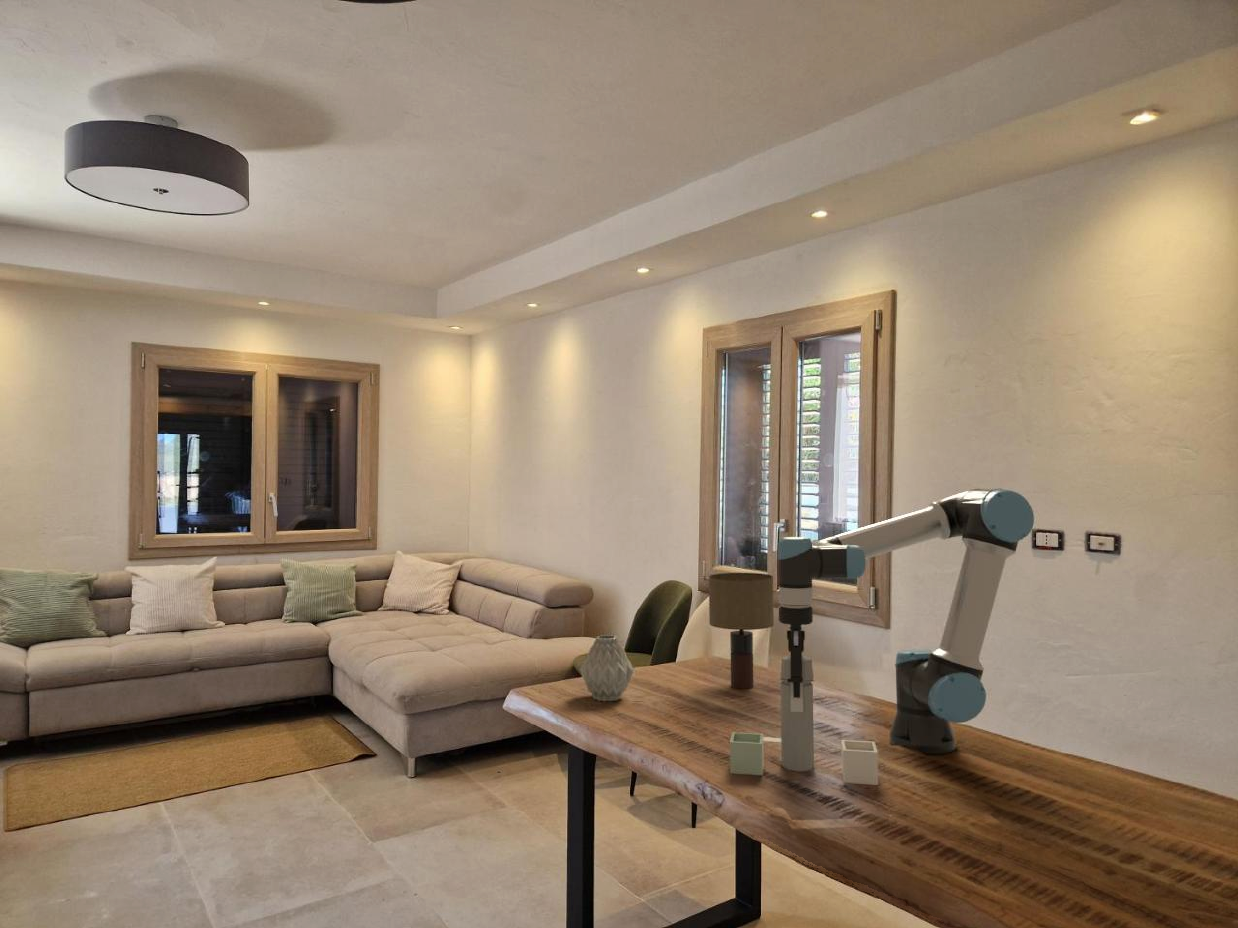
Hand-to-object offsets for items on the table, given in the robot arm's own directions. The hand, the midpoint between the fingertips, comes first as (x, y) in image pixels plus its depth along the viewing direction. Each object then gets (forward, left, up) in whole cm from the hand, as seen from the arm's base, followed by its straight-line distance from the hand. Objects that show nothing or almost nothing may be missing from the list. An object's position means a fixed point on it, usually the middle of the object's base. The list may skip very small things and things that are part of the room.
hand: (796, 705), depth 182 cm
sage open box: (+11, +5, -14) cm, 19 cm away
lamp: (+17, -71, -14) cm, 74 cm away
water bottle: (0, 0, -14) cm, 14 cm away
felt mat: (+8, -13, -14) cm, 21 cm away
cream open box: (-13, +6, -14) cm, 20 cm away
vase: (+56, -50, -14) cm, 76 cm away
